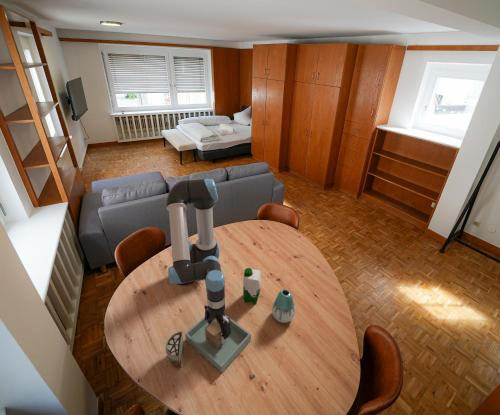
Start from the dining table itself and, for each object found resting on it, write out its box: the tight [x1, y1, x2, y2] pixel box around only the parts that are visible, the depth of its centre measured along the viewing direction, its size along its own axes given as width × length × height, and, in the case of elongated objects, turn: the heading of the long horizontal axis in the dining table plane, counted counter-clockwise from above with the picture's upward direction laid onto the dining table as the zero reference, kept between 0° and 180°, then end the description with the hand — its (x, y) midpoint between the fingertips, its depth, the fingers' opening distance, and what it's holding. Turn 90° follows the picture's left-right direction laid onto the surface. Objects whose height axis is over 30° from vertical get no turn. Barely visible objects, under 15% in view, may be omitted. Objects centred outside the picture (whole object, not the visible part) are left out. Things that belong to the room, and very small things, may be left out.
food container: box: [165, 331, 185, 369], centre depth 116 cm, size 12×6×10 cm, turn 5°
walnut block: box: [205, 319, 230, 349], centre depth 122 cm, size 9×7×8 cm
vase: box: [271, 288, 296, 324], centre depth 134 cm, size 12×12×18 cm
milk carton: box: [242, 267, 262, 305], centre depth 143 cm, size 9×9×20 cm
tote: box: [184, 314, 252, 374], centre depth 125 cm, size 24×20×5 cm
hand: (218, 336), depth 124 cm, fingers closed on walnut block, 7 cm apart
